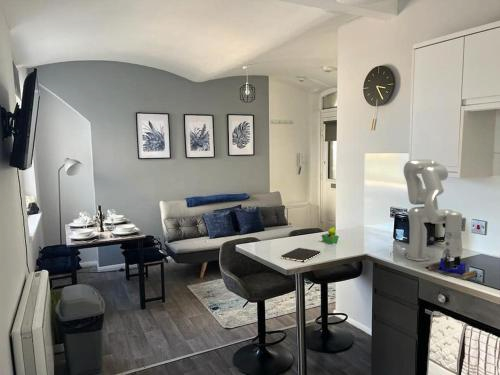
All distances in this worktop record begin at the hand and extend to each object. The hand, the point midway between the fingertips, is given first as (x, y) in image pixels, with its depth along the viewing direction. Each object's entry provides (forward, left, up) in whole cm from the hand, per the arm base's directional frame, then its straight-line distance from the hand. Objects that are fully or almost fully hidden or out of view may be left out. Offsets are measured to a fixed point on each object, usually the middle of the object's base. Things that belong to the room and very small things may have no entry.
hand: (451, 266), depth 202 cm
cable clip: (0, 0, -3) cm, 3 cm away
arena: (0, 0, -4) cm, 4 cm away
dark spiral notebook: (-72, -44, -4) cm, 85 cm away
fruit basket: (-87, -4, -4) cm, 87 cm away
